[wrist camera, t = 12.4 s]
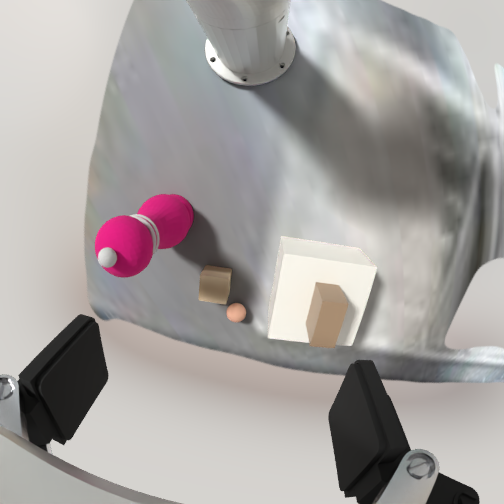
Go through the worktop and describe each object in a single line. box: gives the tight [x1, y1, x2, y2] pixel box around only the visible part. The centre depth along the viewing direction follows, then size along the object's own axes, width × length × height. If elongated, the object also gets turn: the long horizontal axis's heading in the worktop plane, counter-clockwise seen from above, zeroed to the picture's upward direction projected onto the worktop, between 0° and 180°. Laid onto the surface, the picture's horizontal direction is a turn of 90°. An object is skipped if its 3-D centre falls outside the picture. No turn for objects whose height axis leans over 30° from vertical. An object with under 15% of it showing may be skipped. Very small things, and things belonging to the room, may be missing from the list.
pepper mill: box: [95, 194, 194, 277], centre depth 31 cm, size 7×7×20 cm
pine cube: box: [199, 265, 232, 304], centre depth 42 cm, size 4×4×4 cm
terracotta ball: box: [227, 303, 246, 322], centre depth 43 cm, size 3×3×3 cm
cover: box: [268, 236, 377, 348], centre depth 36 cm, size 12×12×13 cm
